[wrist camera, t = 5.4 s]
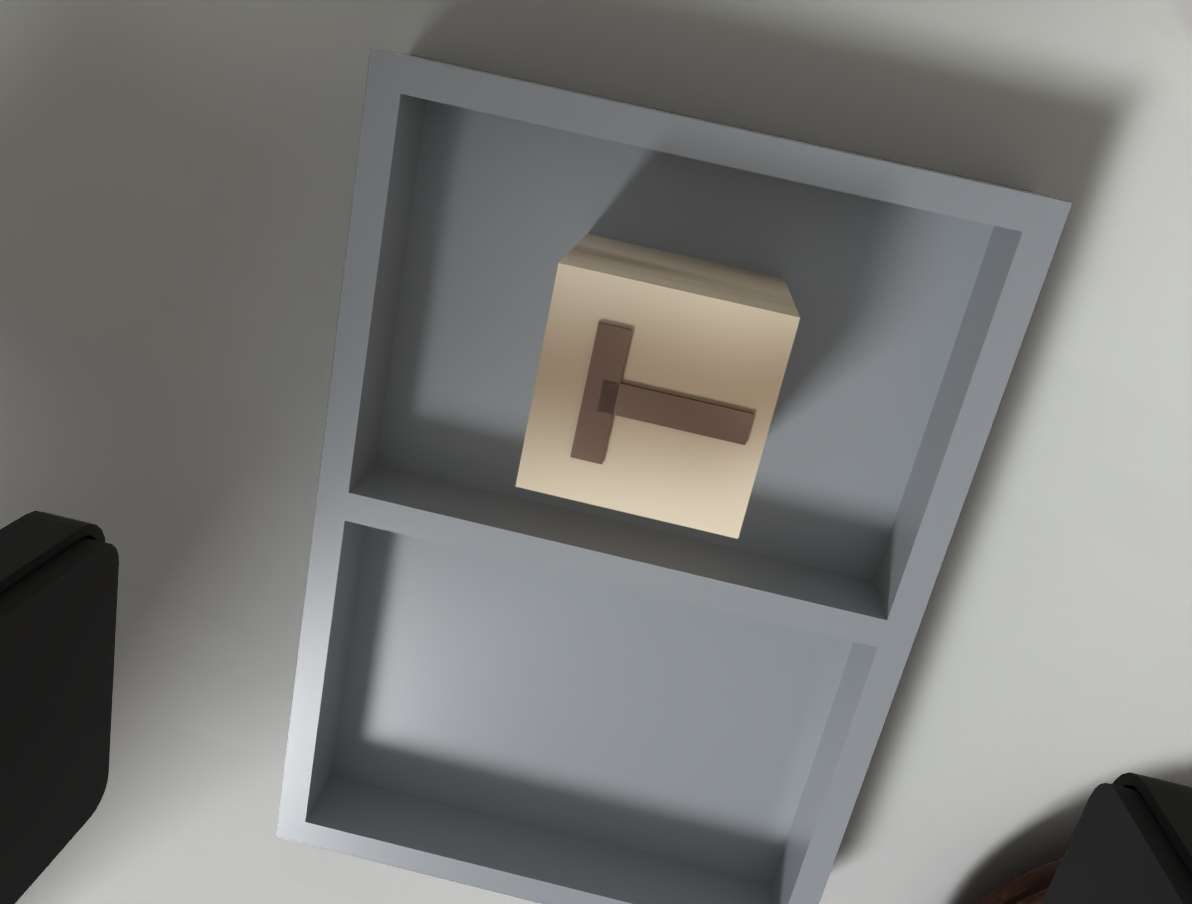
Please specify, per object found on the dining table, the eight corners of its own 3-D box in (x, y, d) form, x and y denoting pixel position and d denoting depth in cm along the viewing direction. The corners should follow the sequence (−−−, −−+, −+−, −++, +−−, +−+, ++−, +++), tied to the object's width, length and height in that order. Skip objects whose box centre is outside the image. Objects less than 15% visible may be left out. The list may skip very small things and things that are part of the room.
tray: (789, 895, 32) (795, 967, 29) (311, 777, 32) (276, 837, 30) (1033, 192, 24) (1072, 203, 22) (406, 54, 25) (370, 48, 22)
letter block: (733, 462, 27) (737, 540, 22) (550, 420, 27) (514, 488, 22) (783, 278, 25) (800, 318, 20) (587, 233, 25) (557, 263, 20)
